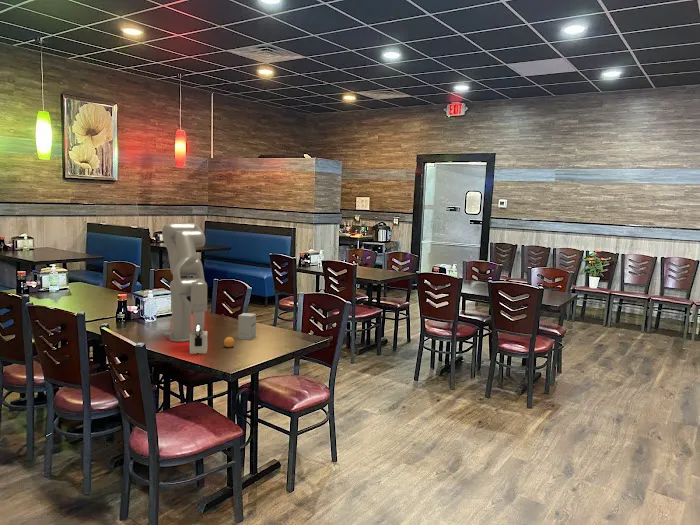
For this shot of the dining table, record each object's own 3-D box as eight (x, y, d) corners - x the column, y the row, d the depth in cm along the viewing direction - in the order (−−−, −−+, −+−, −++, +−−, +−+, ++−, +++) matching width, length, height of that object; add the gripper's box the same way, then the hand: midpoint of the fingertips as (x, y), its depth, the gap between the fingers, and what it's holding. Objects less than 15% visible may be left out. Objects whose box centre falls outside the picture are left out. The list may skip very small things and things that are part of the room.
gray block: (189, 353, 256) (189, 335, 255) (190, 349, 264) (190, 331, 263) (206, 353, 258) (206, 335, 257) (207, 348, 265) (207, 331, 264)
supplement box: (250, 340, 284) (251, 316, 282) (237, 339, 285) (237, 315, 284) (256, 336, 291) (256, 313, 290) (243, 335, 292) (243, 312, 291)
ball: (223, 348, 267) (223, 338, 266) (223, 345, 272) (224, 335, 271) (234, 348, 268) (234, 338, 267) (234, 345, 273) (234, 335, 272)
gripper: (192, 304, 266) (192, 339, 268) (189, 311, 249) (189, 348, 251) (208, 304, 268) (208, 339, 270) (206, 311, 251) (206, 348, 253)
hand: (199, 343), depth 260 cm, fingers closed on gray block, 7 cm apart
